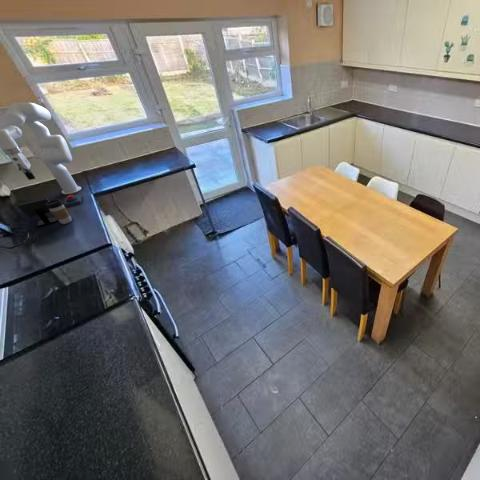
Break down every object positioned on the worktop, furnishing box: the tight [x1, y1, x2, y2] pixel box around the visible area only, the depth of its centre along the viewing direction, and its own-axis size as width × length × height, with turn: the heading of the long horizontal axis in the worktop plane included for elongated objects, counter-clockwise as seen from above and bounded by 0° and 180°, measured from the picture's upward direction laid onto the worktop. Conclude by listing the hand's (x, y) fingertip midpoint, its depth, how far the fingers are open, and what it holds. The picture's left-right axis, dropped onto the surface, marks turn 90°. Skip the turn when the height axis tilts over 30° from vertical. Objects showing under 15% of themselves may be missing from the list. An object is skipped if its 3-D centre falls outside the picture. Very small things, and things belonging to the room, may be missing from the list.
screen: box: [17, 197, 51, 218], centre depth 173 cm, size 2×14×10 cm, turn 124°
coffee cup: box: [46, 199, 73, 225], centre depth 175 cm, size 8×8×15 cm
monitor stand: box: [35, 209, 59, 228], centre depth 176 cm, size 7×10×10 cm
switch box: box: [63, 194, 82, 208], centre depth 200 cm, size 11×9×4 cm
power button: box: [66, 194, 74, 199], centre depth 198 cm, size 4×4×2 cm
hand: (32, 178), depth 175 cm, fingers closed
